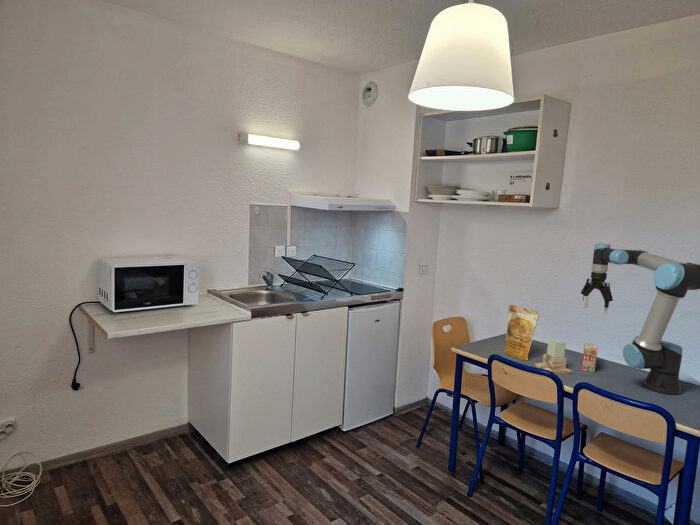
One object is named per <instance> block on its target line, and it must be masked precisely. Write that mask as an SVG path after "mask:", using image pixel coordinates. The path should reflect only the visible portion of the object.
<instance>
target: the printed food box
mask: <svg viewBox="0 0 700 525" xmlns="http://www.w3.org/2000/svg"><path fill="white" fill-rule="evenodd" d="M598 348H599V347H598V345H597V344H595V343H594V344H593V343H587V342H585V343H584V345H583V354H582V363H581V371H582V370H584V372H588V371H589V372H588V373H593V372H594V373H595V372H596V371H595V370H596V365H597V359H598V358H597V357H598V352H599V351H598Z"/></svg>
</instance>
